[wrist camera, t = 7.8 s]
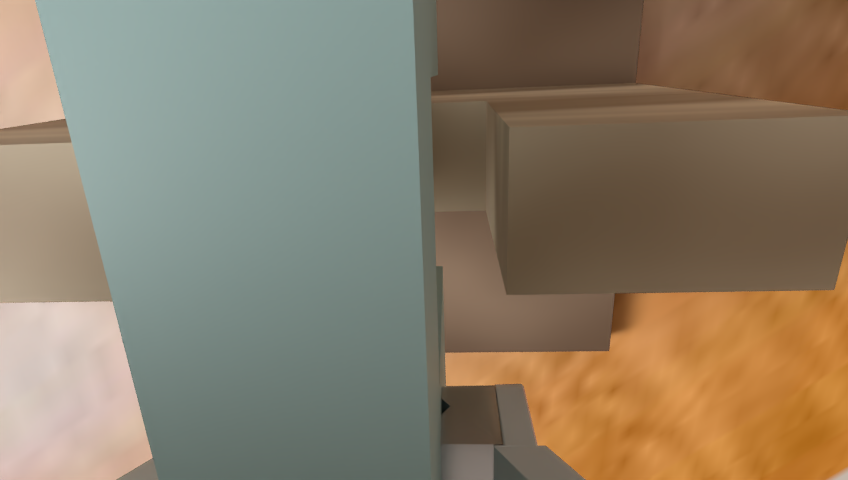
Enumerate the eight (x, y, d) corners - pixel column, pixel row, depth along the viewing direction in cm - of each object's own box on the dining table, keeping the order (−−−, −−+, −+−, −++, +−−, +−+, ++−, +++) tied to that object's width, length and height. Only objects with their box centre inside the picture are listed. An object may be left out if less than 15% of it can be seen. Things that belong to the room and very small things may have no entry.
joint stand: (149, -145, 14) (-416, -530, 5) (648, -179, 14) (1098, -716, 4) (241, 340, 20) (53, 594, 10) (601, 336, 19) (750, 608, 10)
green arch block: (306, -121, 10) (-158, -752, 2) (433, -128, 10) (380, -826, 2) (354, 394, 14) (239, 794, 6) (445, 394, 14) (444, 803, 6)
